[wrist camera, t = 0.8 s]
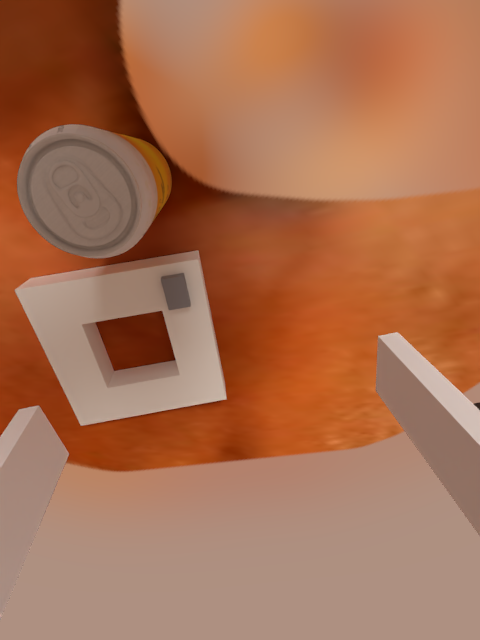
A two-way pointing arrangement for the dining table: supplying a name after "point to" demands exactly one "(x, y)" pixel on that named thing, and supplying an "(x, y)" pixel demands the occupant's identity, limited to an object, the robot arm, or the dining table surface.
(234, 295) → the dining table surface
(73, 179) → the beer can
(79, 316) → the socket plate
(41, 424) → the robot arm
